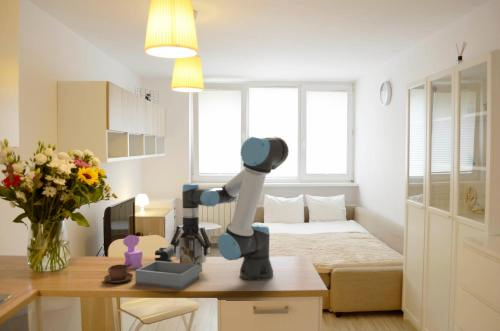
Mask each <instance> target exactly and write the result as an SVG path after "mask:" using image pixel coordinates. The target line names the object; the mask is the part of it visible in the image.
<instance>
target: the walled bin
mask: <svg viewBox="0 0 500 331" xmlns="http://www.w3.org/2000/svg"><path fill="white" fill-rule="evenodd" d="M134 270H135V272H134V273H135V275H134V277H135V281H134V282H135V283H134V284H135V285H137V286H138V285H140V286H147V287H158V288H165V289H172V290H173V289H175V290H183V289H185V288H186V287H188V286H190V285H191V284H192V283H194V282H196V281H198V280H199V279H200V278H199V277H200V271H199V265H194V264H184V263H180V262H174V261H173V262H171V261H167V262H163V261H155V260H154V261H152V262H150V263H148V264H146V265H144V266H143V265H142V267H140V268H136V269H134Z"/></svg>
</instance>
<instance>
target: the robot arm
mask: <svg viewBox="0 0 500 331" xmlns="http://www.w3.org/2000/svg"><path fill="white" fill-rule="evenodd" d="M289 150H290V149H289V146H288V144H287V142H286V141H285V140H284V139H282V138H281V137H278V136H267V135H264V136H263V135H256V136H255V135H254V136H251V137H248V138H247V139H246V140H245V141H244V142H243V144H242V145H241V148H240V156H241V160H242V162H243V164H242V166H243V168H244V169H242V170H241V171H240V172H239V173H238V174H236V175H234V177H232V178H231V180H229V181H228V182H227V183H225V184H224V185H222V187H216V188H200V186H199V185H200V184H198V183H184V184H183V185H182V194H181V195H182V225H177V226H176V229H175V233H174V235H173V237H172V239H171V241H170V245H171V246H173V250H174V254H175V260H176V261H180V246H179V238H178V237H184V236H192V237H193V236H194V237H195V238H197V239H198V241H199V243H200V244H201V246H202V264H205V263H206V261H207V258H206V257H207V256H208V249H209V248H211V247H212V244H211V241H210V239H209V237H208V234H207V232H206V229H205V227H204V226H202V227H199V224H200V222H199V221H200V220H199V219H200V218H199V215H200V214H199V210H200V207H199V206H204V207H207V208H209V207H216V206H217V205H220V204H231V203H233V202H236V205H235V209H234V212H233V216H232V221H231V222H229V223H227V225H226V229H225V232H224V233H222V234H220V235H219V236H218V238H217V244H216V245H217V249H218V251H219V253H220V255H221V256H222V258H224V259H225V260H227V261H237V260H239V259H242V258H243V260H242V262H241V266H240V269H239V276H240V278H242V279H243V280H247V281H248V280H249V281H265V280H269V279H272V278H273V276H274V269H273V266H272V263H271V259H270V228H269V227H268V226H266V225H263V224H254V223H253V222H254V220H255V215H256V213H257V209H258V205H259V201H260V198H261V194H262V192H263V191H262V190H263V186H264V183H265V179H266V176H268V175H269V174H270V173H271V171H272V170H276V169H277V168H279V167H280V166H281V165H282V164H284V163H285V161H286V160H287V159H288V157H289ZM181 231H182V233H181ZM199 232H200V233H199ZM180 234H181V235H180ZM179 235H180V236H179ZM201 237H202V238H201Z"/></svg>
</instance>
